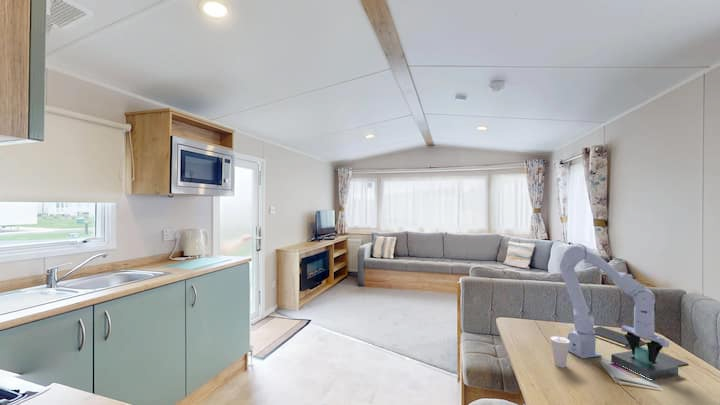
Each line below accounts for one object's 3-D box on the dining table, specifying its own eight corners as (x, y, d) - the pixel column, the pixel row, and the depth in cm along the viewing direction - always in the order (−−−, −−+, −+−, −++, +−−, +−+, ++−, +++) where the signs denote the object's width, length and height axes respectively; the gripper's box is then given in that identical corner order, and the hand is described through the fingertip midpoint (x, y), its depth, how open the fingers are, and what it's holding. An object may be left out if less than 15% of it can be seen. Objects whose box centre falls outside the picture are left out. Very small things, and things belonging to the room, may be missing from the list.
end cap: (646, 372, 115) (646, 353, 115) (631, 365, 120) (631, 347, 120) (656, 370, 116) (656, 351, 116) (640, 364, 121) (641, 345, 121)
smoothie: (552, 358, 125) (553, 323, 125) (571, 364, 120) (572, 328, 120) (548, 364, 120) (548, 328, 120) (567, 371, 116) (567, 333, 116)
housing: (649, 380, 110) (649, 371, 110) (611, 362, 122) (611, 354, 122) (678, 374, 114) (678, 366, 113) (637, 357, 126) (638, 349, 126)
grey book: (648, 340, 138) (628, 347, 132) (648, 345, 138) (628, 351, 132) (598, 324, 157) (579, 329, 151) (598, 328, 157) (579, 333, 151)
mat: (667, 368, 118) (667, 367, 118) (635, 354, 128) (635, 353, 128) (688, 364, 121) (688, 363, 121) (654, 351, 131) (654, 350, 131)
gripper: (675, 327, 112) (674, 366, 112) (630, 313, 126) (630, 347, 126) (661, 329, 110) (660, 368, 110) (617, 315, 124) (617, 349, 124)
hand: (643, 357), depth 118 cm, fingers closed on end cap, 5 cm apart
